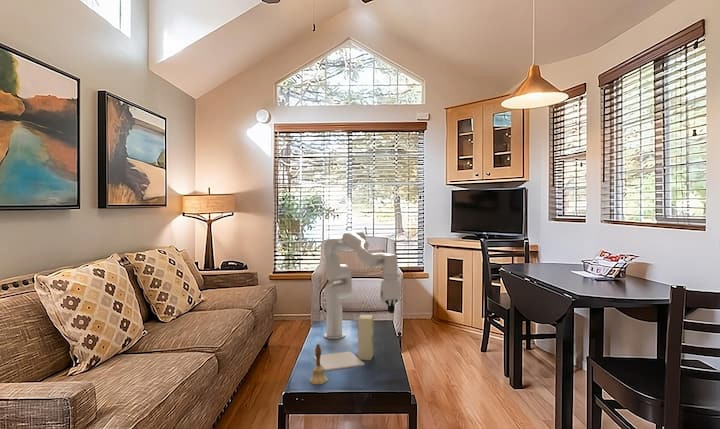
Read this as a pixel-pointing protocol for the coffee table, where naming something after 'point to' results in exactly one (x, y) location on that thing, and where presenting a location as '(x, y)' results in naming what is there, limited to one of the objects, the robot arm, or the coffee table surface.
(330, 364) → the sheet of paper
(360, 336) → the toy refrigerator
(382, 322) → the coffee table surface
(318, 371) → the hand bell
